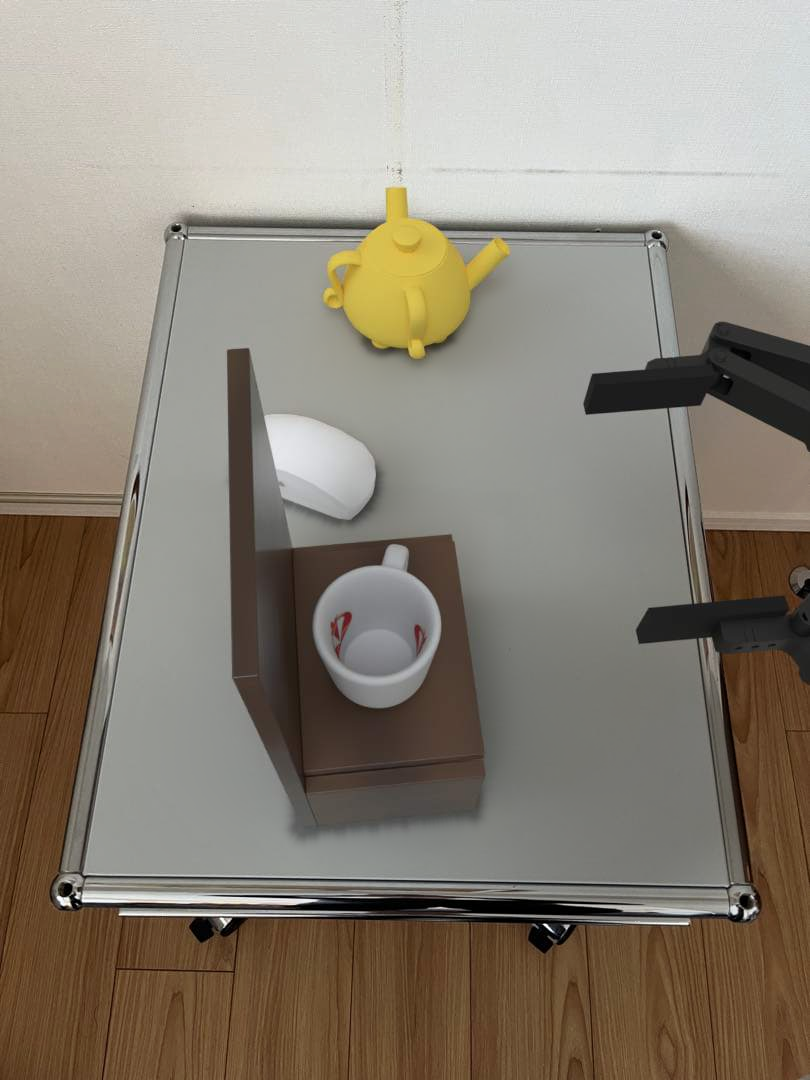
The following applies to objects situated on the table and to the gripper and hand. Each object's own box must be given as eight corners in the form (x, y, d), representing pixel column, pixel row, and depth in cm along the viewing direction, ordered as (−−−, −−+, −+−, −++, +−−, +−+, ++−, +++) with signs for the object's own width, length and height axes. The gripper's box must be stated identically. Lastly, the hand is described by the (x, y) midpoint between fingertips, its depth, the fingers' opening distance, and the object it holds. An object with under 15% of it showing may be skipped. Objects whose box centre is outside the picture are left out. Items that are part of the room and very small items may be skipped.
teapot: (506, 305, 95) (518, 221, 85) (426, 391, 90) (429, 312, 80) (394, 242, 99) (393, 155, 89) (311, 321, 94) (301, 237, 84)
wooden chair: (445, 593, 80) (473, 330, 50) (474, 810, 72) (529, 651, 42) (291, 606, 80) (226, 348, 50) (302, 828, 71) (231, 678, 41)
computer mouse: (260, 426, 88) (250, 386, 83) (386, 472, 86) (386, 434, 80) (228, 480, 85) (216, 442, 80) (358, 529, 83) (355, 493, 78)
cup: (345, 569, 68) (340, 515, 61) (453, 590, 67) (460, 537, 60) (308, 710, 63) (297, 669, 56) (424, 734, 62) (427, 695, 55)
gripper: (1072, 722, 46) (651, 764, 45) (898, 330, 58) (559, 356, 57) (1185, 670, 40) (694, 718, 39) (963, 239, 51) (581, 266, 50)
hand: (613, 502), depth 48 cm, fingers open, 13 cm apart
